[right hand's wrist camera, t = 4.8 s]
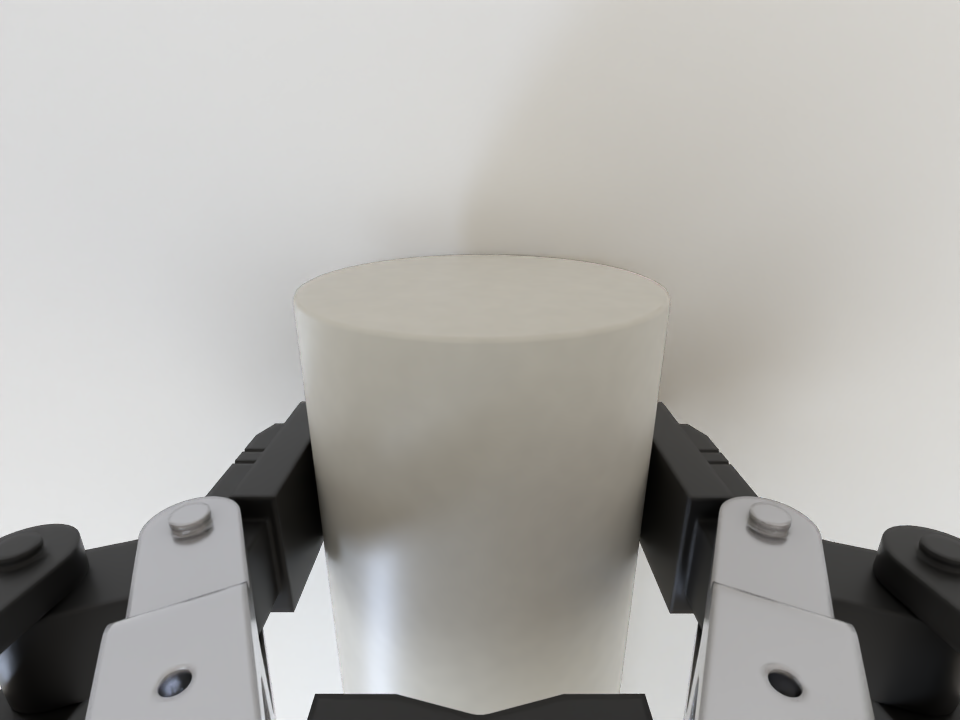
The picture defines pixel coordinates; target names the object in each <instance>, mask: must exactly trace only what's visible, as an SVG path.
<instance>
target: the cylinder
mask: <svg viewBox="0 0 960 720" xmlns="http://www.w3.org/2000/svg"><path fill="white" fill-rule="evenodd" d="M293 306H294V313H295V321H296V329H297V337H298V345H299V352H300V360H301V368H302V376H303V383H304V391H305V399H306V407H307V415H308V422H309V430H310V438H311V446H312V453H313V461H314V469H315V477H316V485H317V492H318V500H319V508H320V516H321V524H322V531H323V539H324V547H325V555H326V562H327V570H328V578H329V586H330V594H331V601H332V609H333V617H334V625H335V632H336V640H337V648H338V656H339V664H340V671H341V679H342V687H343V694H399V695H402V696H406V697H410V698H414V699H417V700H421V701H425V702H429V703H433V704H436V705H440V706H444V707H448V708H451V709H455V710H459V711H463V712H467V713H470V714H476V715H484V714H490V713H493V712H497V711H501V710H505V709H509V708H512V707H516V706H520V705H524V704H527V703H531V702H535V701H539V700H543V699H546V698H550V697H554V696H558V695H561V694H620V686H621V678H622V671H623V663H624V655H625V648H626V640H627V632H628V625H629V617H630V609H631V602H632V594H633V586H634V578H635V571H636V563H637V555H638V548H639V540H640V532H641V525H642V517H643V509H644V502H645V494H646V486H647V479H648V471H649V463H650V456H651V448H652V440H653V433H654V425H655V417H656V410H657V402H658V394H659V387H660V379H661V371H662V364H663V356H664V348H665V341H666V333H667V325H668V318H669V310H670V296H669V294H668V292H667V290H666V289H665V288H664V287H663V286H662V285H660V284H659V283H657V282H655V281H653V280H652V279H649V278H647V277H645V276H642V275H640V274H637V273H634V272H631V271H627V270H624V269H620V268H616V267H612V266H607V265H602V264H596V263H590V262H584V261H577V260H569V259H560V258H550V257H537V256H520V255H443V256H426V257H413V258H403V259H394V260H386V261H379V262H373V263H367V264H361V265H357V266H352V267H347V268H343V269H339V270H336V271H333V272H329V273H326V274H324V275H321V276H319V277H316V278H314V279H312V280H310V281H308V282H306V283H304V284H303V285H302V286H301V287H299V288H298V289H297V291H296V293H295V294H294V297H293Z"/></svg>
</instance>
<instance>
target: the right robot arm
mask: <svg viewBox="0 0 960 720" xmlns="http://www.w3.org/2000/svg"><path fill="white" fill-rule="evenodd" d="M323 541H324V539H323V531H322V524H321V516H320V508H319V500H318V492H317V485H316V477H315V469H314V461H313V453H312V446H311V438H310V430H309V422H308V415H307V407H306V401H302V402H300V403H299V405H298V406H297V407H296V409H295V410H294V411H293V413H292V414H291V415H290V417H289V418H288V419H287V421H286V422H285V423H284V424H274V425H272V426H271V427H269V428H267V429H266V430H264V431H262V432H261V433H259V434H257V435H256V436H255V437H254V438H253V440H252V441H251V442H250V443H249V445H248V446H247V447H246V448H245V452H242V453H241V454H240V455H239V457H238V458H237V459H236V460H235V464H232V465H231V466H230V468H229V469H228V470H227V471H226V472H225V474H224V475H223V476H222V477H221V478H220V480H219V481H218V482H217V483H216V484H215V486H214V487H213V488H212V489H211V491H210V492H209V493H208V494H207V495H206V497H199V498H194V499H190V500H186V501H183V502H180V503H178V504H175V505H173V506H171V507H168V508H166V509H165V510H163V511H161V512H160V513H158V514H157V515H155V516H154V517H153V518H151V519H150V520H149V521H148V522H147V523H146V524H145V525H144V527H143V528H142V530H141V531H140V534H139V538H138V539H137V540H133V541H128V542H123V543H118V544H113V545H108V546H103V547H98V548H93V549H88V550H85V549H84V546H83V543H82V540H81V537H80V534H79V532H78V530H77V529H76V528H74V527H72V526H70V525H65V524H47V525H40V526H35V527H31V528H26V529H23V530H20V531H17V532H14V533H11V534H9V535H6V536H4V537H1V538H0V686H1V688H2V689H1V690H0V720H276V713H275V706H274V699H273V692H272V685H271V677H270V670H269V663H268V656H267V649H266V641H265V636H264V631H263V627H264V625H265V622H266V620H267V618H268V616H269V614H270V612H294V610H295V608H296V606H297V603H298V601H299V598H300V596H301V594H302V591H303V589H304V586H305V584H306V582H307V579H308V577H309V574H310V572H311V570H312V567H313V565H314V562H315V560H316V557H317V555H318V553H319V550H320V548H321V545H322V543H323ZM639 541H640V543H641V546H642V548H643V551H644V553H645V555H646V558H647V560H648V562H649V565H650V567H651V570H652V572H653V574H654V577H655V579H656V581H657V584H658V586H659V588H660V591H661V593H662V596H663V598H664V600H665V603H666V605H667V607H668V610H669V612H670V613H694V615H695V617H696V619H697V621H698V625H697V631H696V636H695V641H694V648H693V656H692V663H691V670H690V677H689V685H688V692H687V699H686V706H685V713H684V720H960V539H959V538H957V537H955V536H952V535H949V534H947V533H944V532H940V531H937V530H933V529H929V528H924V527H918V526H908V525H907V526H895V527H892V528H889V529H887V530H886V531H885V532H884V534H883V536H882V539H881V542H880V545H879V548H878V551H875V550H870V549H865V548H860V547H855V546H850V545H845V544H840V543H835V542H831V541H827V540H823V539H822V538H821V534H820V531H819V530H818V528H817V527H816V525H815V524H814V523H813V522H812V521H811V520H810V519H809V518H807V517H806V516H805V515H803V514H802V513H800V512H799V511H797V510H795V509H794V508H792V507H789V506H787V505H785V504H782V503H780V502H777V501H774V500H770V499H766V498H761V497H758V496H757V495H756V494H755V493H754V491H753V490H752V489H751V488H750V487H749V485H748V484H747V483H746V482H745V481H744V479H743V478H742V477H741V476H740V475H739V473H738V472H737V471H736V470H735V469H734V467H733V466H732V465H731V464H729V463H728V460H727V459H726V458H725V457H724V455H723V454H722V453H719V450H718V448H717V447H716V446H715V445H714V444H713V442H712V441H711V440H710V439H709V438H708V436H706V435H705V434H703V433H701V432H700V431H698V430H696V429H695V428H693V427H691V426H690V425H688V424H679V423H678V422H677V421H676V420H675V418H674V417H673V416H672V414H671V413H670V412H669V410H668V409H667V408H666V406H665V405H664V404H663V403H662V402H657V410H656V417H655V425H654V433H653V440H652V448H651V456H650V463H649V471H648V479H647V486H646V494H645V502H644V509H643V517H642V525H641V532H640V540H639ZM307 720H653V719H652V716H651V712H650V709H649V706H648V703H647V700H646V696H645V694H561V695H558V696H554V697H550V698H546V699H543V700H539V701H535V702H531V703H527V704H524V705H520V706H516V707H512V708H509V709H505V710H501V711H497V712H493V713H490V714H484V715H476V714H470V713H467V712H463V711H459V710H455V709H451V708H448V707H444V706H440V705H436V704H433V703H429V702H425V701H421V700H417V699H414V698H410V697H406V696H402V695H399V694H315V696H314V700H313V703H312V706H311V709H310V712H309V716H308V719H307Z"/></svg>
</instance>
